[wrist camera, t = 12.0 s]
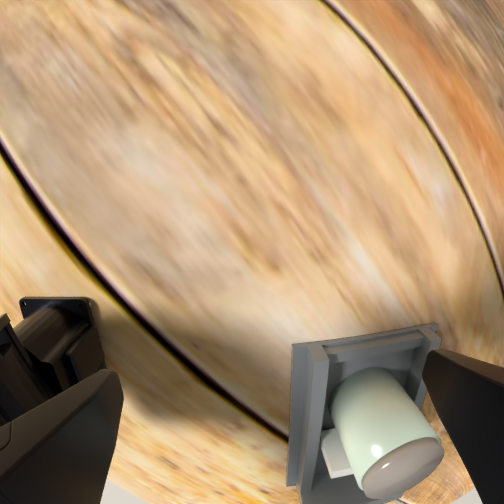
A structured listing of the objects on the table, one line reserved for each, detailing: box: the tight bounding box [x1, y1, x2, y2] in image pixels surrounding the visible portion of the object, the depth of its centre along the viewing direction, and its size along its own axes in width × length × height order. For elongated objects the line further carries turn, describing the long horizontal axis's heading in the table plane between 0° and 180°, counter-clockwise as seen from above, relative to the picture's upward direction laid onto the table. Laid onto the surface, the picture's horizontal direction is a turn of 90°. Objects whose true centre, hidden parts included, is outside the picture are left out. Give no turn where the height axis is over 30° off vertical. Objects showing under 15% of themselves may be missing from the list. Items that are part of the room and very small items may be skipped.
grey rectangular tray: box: [286, 323, 442, 504], centre depth 21 cm, size 12×18×6 cm, turn 3°
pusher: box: [319, 428, 354, 479], centre depth 20 cm, size 7×1×5 cm, turn 93°
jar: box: [328, 367, 444, 499], centre depth 18 cm, size 6×6×9 cm
